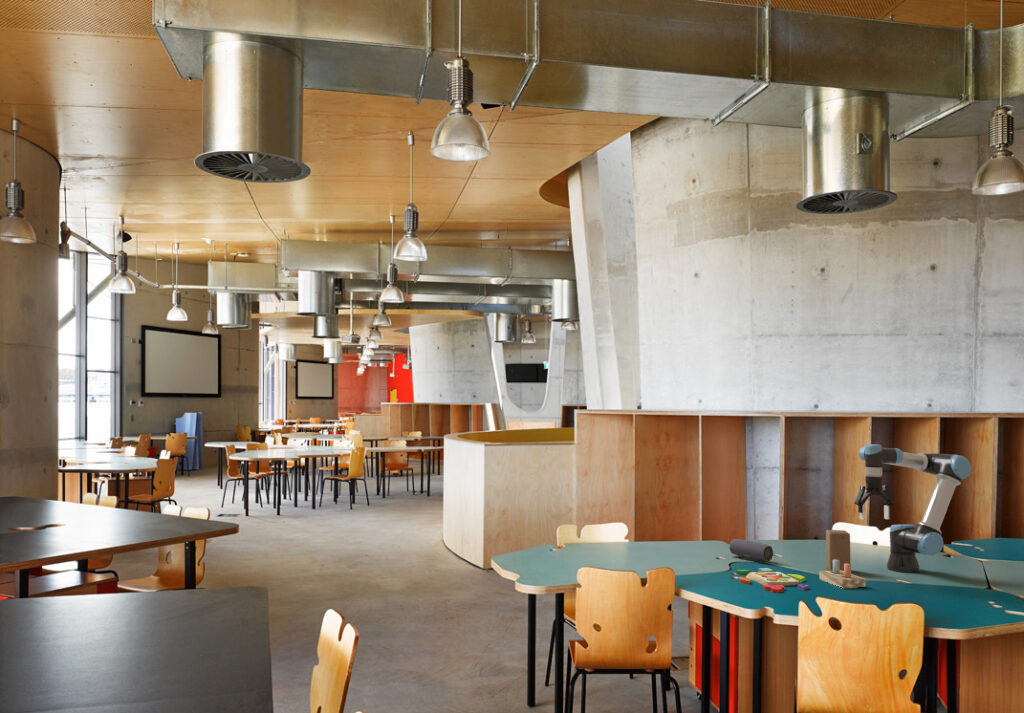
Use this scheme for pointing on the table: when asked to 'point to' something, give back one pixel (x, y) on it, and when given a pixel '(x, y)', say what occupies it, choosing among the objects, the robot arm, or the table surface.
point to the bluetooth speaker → (751, 550)
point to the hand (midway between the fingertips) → (874, 519)
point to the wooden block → (837, 548)
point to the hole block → (842, 579)
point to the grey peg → (836, 567)
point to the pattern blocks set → (772, 579)
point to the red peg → (847, 570)
